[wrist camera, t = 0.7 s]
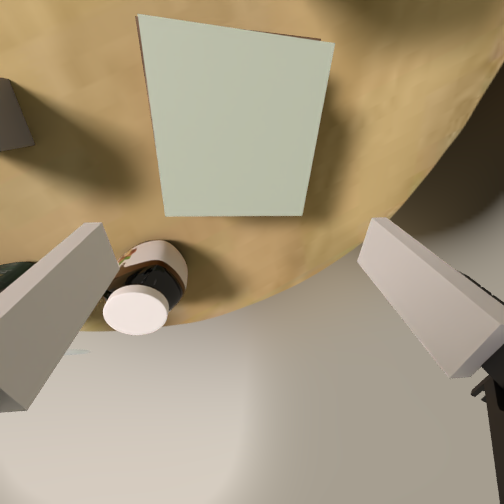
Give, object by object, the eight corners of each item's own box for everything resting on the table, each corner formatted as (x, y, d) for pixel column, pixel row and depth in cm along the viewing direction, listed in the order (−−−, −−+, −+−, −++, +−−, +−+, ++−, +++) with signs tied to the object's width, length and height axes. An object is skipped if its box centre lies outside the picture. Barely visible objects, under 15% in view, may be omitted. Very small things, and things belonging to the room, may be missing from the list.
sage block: (152, 35, 19) (137, 13, 15) (309, 57, 22) (335, 43, 17) (171, 199, 26) (165, 216, 22) (287, 200, 29) (302, 215, 24)
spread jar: (169, 227, 34) (154, 274, 24) (206, 280, 40) (206, 334, 30) (98, 260, 34) (56, 318, 24) (145, 307, 40) (126, 369, 30)
